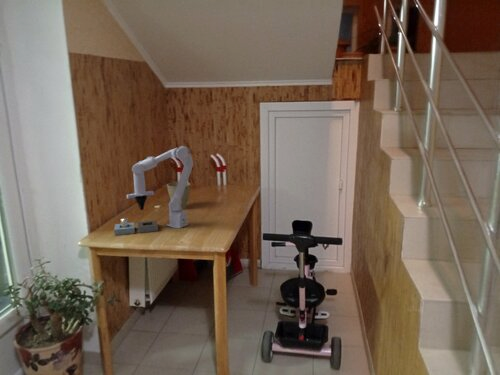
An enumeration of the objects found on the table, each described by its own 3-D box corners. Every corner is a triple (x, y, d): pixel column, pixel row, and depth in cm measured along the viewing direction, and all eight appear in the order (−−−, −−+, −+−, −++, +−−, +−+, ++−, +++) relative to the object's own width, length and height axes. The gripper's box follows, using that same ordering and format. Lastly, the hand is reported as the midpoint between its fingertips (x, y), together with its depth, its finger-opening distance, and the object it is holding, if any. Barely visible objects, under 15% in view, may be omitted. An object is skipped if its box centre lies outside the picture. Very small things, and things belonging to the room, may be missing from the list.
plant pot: (186, 211, 246) (185, 186, 242) (164, 210, 249) (163, 186, 245) (194, 205, 260) (193, 182, 257) (173, 204, 263) (172, 181, 259)
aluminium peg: (129, 230, 212) (128, 217, 210) (127, 232, 208) (126, 219, 207) (122, 230, 211) (121, 217, 210) (120, 232, 208) (119, 219, 206)
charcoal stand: (156, 225, 219) (156, 220, 218) (158, 231, 210) (157, 225, 209) (138, 227, 216) (137, 222, 216) (138, 233, 207) (138, 227, 206)
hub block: (134, 227, 216) (134, 222, 215) (134, 233, 206) (134, 227, 206) (115, 229, 213) (115, 224, 212) (114, 235, 204) (114, 229, 203)
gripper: (128, 188, 205) (131, 213, 208) (155, 184, 213) (157, 208, 216) (124, 186, 211) (126, 210, 214) (150, 182, 219) (152, 206, 222)
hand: (141, 209), depth 215 cm, fingers closed
